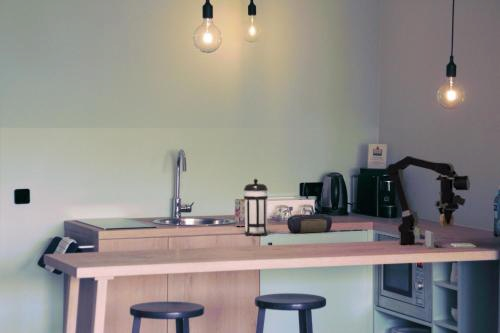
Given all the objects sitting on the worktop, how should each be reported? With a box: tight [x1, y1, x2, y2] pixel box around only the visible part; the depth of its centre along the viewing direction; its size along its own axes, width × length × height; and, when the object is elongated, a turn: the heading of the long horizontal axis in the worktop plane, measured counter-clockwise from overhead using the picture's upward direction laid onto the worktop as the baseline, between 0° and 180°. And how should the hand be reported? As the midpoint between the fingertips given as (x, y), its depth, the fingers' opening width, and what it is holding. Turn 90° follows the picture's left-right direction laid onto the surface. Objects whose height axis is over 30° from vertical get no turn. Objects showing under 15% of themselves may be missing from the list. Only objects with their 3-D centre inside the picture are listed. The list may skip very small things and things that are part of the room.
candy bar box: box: [234, 198, 245, 223], centre depth 478 cm, size 11×5×16 cm, turn 130°
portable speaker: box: [286, 213, 333, 234], centre depth 443 cm, size 25×10×10 cm, turn 109°
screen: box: [423, 230, 436, 249], centre depth 379 cm, size 3×11×7 cm, turn 2°
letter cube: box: [439, 214, 455, 227], centre depth 379 cm, size 5×5×5 cm
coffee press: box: [243, 178, 269, 237], centre depth 431 cm, size 17×16×30 cm
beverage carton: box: [398, 223, 421, 240], centre depth 421 cm, size 8×19×7 cm, turn 0°
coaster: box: [450, 242, 477, 249], centre depth 379 cm, size 9×9×1 cm
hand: (446, 223), depth 379 cm, fingers closed on letter cube, 5 cm apart
